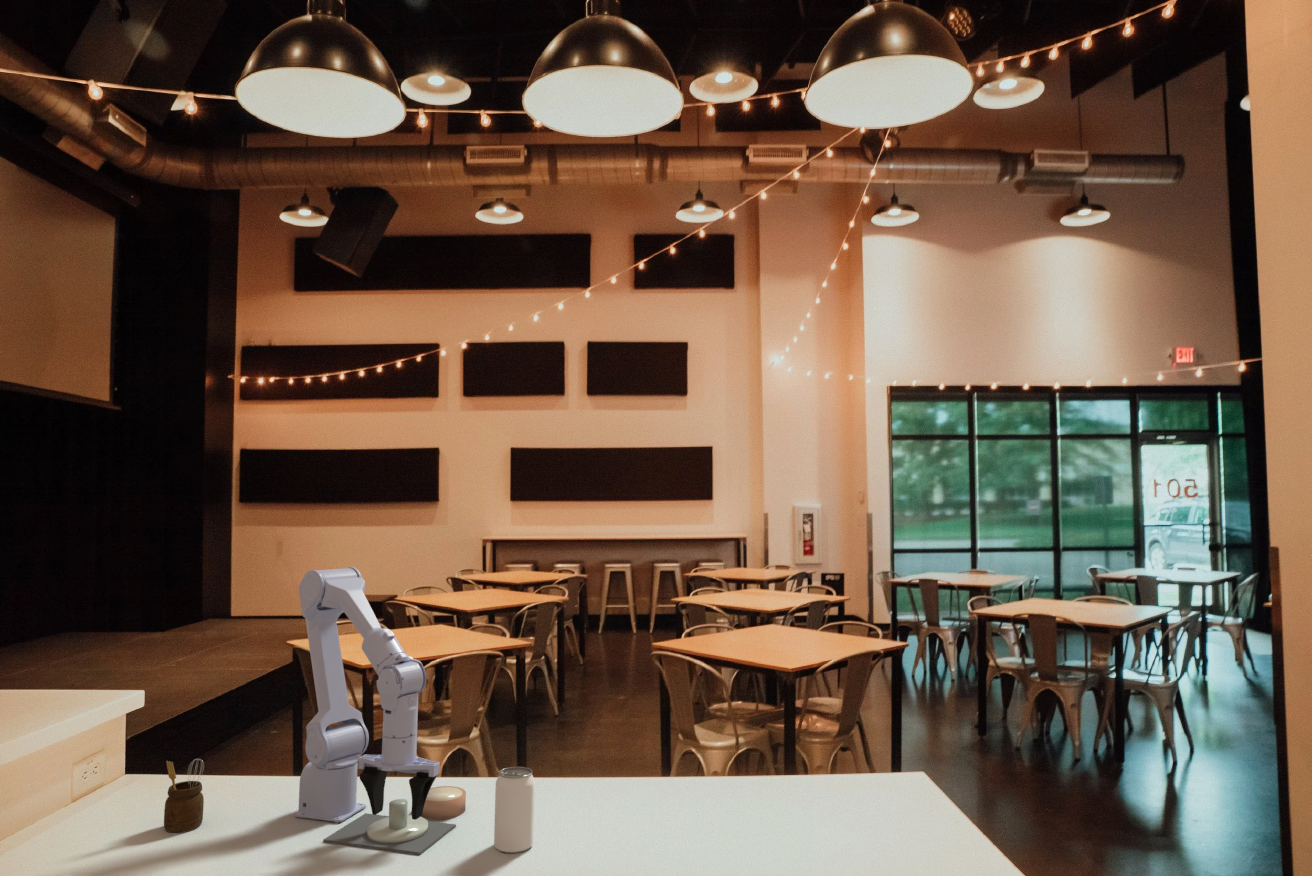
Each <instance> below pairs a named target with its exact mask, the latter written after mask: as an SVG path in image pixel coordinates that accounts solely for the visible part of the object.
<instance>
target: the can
mask: <svg viewBox="0 0 1312 876" xmlns="http://www.w3.org/2000/svg"><path fill="white" fill-rule="evenodd" d="M535 787H536V782H535V778H534V775H533V770H532V768H529V767H525V766H510V767H505V768H502V769H500V770H499V771H498V776H497V779H496V781H495V795H494V796H495V797H494V827H493V829H494V833H493V836H494V837H493V839H494V841H493V842H494V845H493V846H494V848H495V849H496V850H497V851H499V852H501V853H504V854H520V853H524V852H527V851H528V850H530V848H531V847H532V846H533V845H534V837H535V836H534V833H535V831H534V830H535V829H534V828H535V827H534V826H535V798H536V797H535V796H536V794H535V793H536V792H535V791H536V789H535Z"/></svg>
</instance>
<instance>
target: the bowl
mask: <svg viewBox="0 0 1312 876" xmlns="http://www.w3.org/2000/svg"><path fill="white" fill-rule="evenodd" d="M466 798H467V791H466V790H465V789H464V788H461V787H459V786H454V785H453V786H452V785H451V786H450V785H447V786H445V785H442V786H435V787H431V788H430V790H429V793H428V795H427V798H426V801H425V804H424V808H423V812H422V816H421V817H423V818H425V819H426V820H435V821H436V820H437V821H438V820H439V821H440V820H441V821H442V820H447V819H452V818H456V817H459V816H461V815H462V814H464V813H465V811H466Z"/></svg>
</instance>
